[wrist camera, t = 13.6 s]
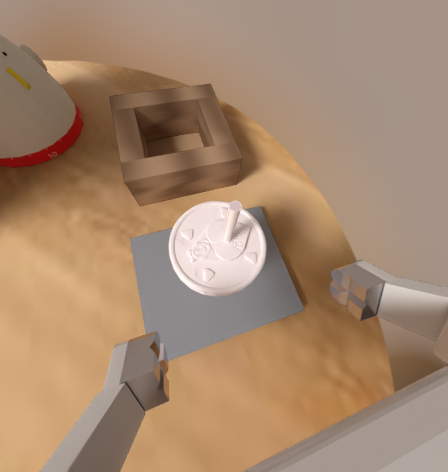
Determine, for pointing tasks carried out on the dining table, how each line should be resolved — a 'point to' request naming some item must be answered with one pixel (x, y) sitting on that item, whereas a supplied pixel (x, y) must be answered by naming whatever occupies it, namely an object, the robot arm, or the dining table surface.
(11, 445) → the dining table surface
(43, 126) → the kitchen timer
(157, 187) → the holder collar
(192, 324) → the rubber mat
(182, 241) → the smoothie
